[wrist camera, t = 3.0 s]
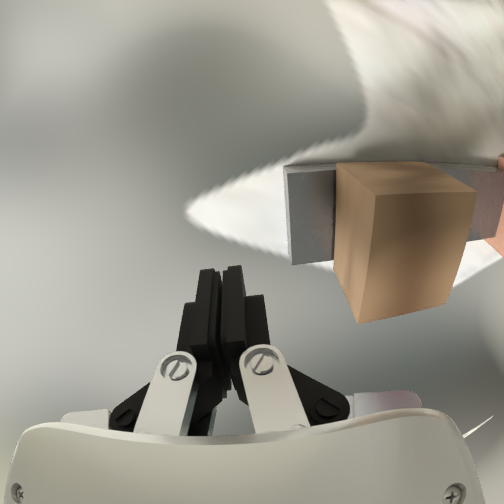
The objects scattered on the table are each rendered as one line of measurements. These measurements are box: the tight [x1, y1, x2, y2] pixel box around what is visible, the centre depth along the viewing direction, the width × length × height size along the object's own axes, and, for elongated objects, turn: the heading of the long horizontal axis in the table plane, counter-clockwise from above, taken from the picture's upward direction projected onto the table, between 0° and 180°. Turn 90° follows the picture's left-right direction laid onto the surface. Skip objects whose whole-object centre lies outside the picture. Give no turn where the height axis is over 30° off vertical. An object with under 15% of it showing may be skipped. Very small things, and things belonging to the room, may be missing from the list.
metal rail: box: [283, 162, 504, 265], centre depth 17 cm, size 22×6×2 cm, turn 96°
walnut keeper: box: [333, 161, 477, 324], centre depth 14 cm, size 6×7×5 cm
